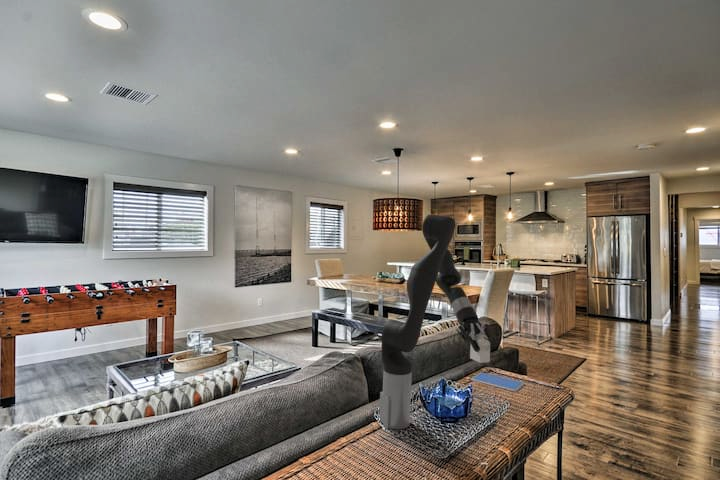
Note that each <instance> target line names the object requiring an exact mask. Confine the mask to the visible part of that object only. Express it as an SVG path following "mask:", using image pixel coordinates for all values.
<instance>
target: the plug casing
mask: <svg viewBox="0 0 720 480" xmlns="http://www.w3.org/2000/svg"><path fill="white" fill-rule="evenodd" d="M474 336H475V340H476V341H477V343H478V346H479V348H480V350H479V351H478V352H475V350H474V349H473V347H472V345H471V344H470V350H469V359H471V360H473V361H475V362H477V363H480V364H481V363H490V361H491V349H490V345H491V342H490V341H489V339H488V340H486V339H484V335H482V334H480V333H479V334H477V336H476V335H474Z"/></svg>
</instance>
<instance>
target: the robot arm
mask: <svg viewBox="0 0 720 480" xmlns="http://www.w3.org/2000/svg"><path fill="white" fill-rule="evenodd" d="M421 227H422V228H421V229H422V234H423V238H424V239H425V241H426V244H427V246H428V247H429V249H430V250H429V251H428V252H427V253H425V254H424V255H423V256H422V257H421V258H419V259H418V260H417V261H416V262H415V263H414V264H413V265H412V268H411V269H410V273H409V274H408V275H409V276H408V277H407V281H406V292H407V297H408V301H409V310H408V315H407V318H406V321H401V320H396V319H391V320H387V322H386V323H385V324H384V326H383V328H382V331H381V332H382V333H381V361H382V364H383V371H382V372H383V375H382V377H383V378H382V391H380V392H379V412H378V413H379V417H378V419H379V418H380V420H381V422H382V423H383V424H382V423H381V422H380V423H381V424H382V425H383V426H384V427H385V428H386V429H393V430H404V429H407V428H408V427H409V426H410V420H411V399H412V398H411V396H412V374H413V373H412V371H413V370H412V369H413V364H412V362H411V361H410V359H408V358H407V357H406V356H405V355H404V353H412V352H413V351H414V350H415V348H416V346H417V344H418V342H419V339H420V335H421V331H422V327H423V322H424V318H425V315H426V312H427V311H426V310H427V307H428V304H429V301H430V298H431V296H432V292H433V290H434V287H435V285H436V286H437V287H438V288H439V289H440V290H441V291H442V292H443V293H444V294H445V296H446V297H447V298H448V302H449V303H450V304H451V307H452V310H453V312H454V315H455V317H456V319H457V321H458V323H459V326H458V327H457V328H456V329H455V330H456V332H457V333H458V335H459V336H460V337H461V339H462V340H463V341H464V342H465V343H467V342H468V343H469V344H470V346H471V345H472V347H473V349H474V350H475V352H478V351H479V350H480V348H479V346H478V343H477V341H476V340H475V336H477V334H482V335H484V339H486V340H488V341H489V340H490V338H492V335H491V332H490V327H489V324H487V323H485V324H482V323H481V322H480V321H479V316H478V314H477V312H476V310H475V309H474V307H473V305H472V302H471V301H470V300H469V299H468V297H467V294H466V292H465V290H464V289H463V288H462V287H461V286H458V285H459V284H460V283H461V282H462V276H461V273H460V272H459V271H458V269H457V268H456V266H455V263H454V257H453V254H452V253H451V251H450V250H449V246H450V244H451V241H452V239H453V236H454V234H455V230H456V220H455V219H454V218H453V217H452V216H448V215H440V214H427V215H426V216H425V217H424V219H423V221H422V224H421ZM491 349H492V346H491V344H490V350H491ZM403 352H404V353H403Z"/></svg>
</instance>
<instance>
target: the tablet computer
mask: <svg viewBox="0 0 720 480" xmlns="http://www.w3.org/2000/svg"><path fill="white" fill-rule="evenodd" d="M470 380H471V381H473V382H475V383H481V384H483V385H488V386H492V387H494V388H499V389H502V390H507V391H511V392H515V393H516V392H518V391H519V390H520V389H521V388H522V387H523V386H524V385H525V383H524V382H523V381H518V380H514V379H510V378H507V377H502V376H498V375H495V374H490V373H485V372H480V373H478V374H476V375H475V376H474V377H472V378H471V379H470Z"/></svg>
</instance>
